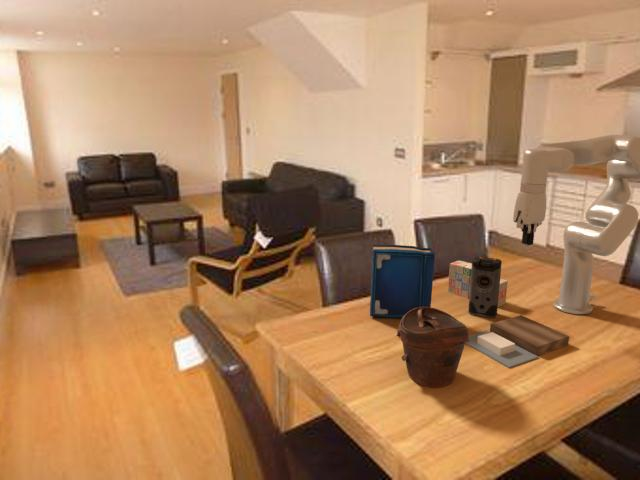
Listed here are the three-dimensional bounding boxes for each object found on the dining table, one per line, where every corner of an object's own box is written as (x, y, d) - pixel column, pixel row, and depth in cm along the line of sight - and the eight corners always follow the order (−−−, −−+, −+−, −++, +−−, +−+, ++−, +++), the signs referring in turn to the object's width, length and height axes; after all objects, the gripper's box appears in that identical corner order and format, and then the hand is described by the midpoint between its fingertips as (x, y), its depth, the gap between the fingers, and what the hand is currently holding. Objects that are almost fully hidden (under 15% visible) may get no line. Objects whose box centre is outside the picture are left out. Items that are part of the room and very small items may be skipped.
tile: (477, 336, 150) (477, 343, 151) (500, 348, 142) (499, 355, 143) (492, 331, 153) (491, 338, 153) (515, 343, 145) (514, 351, 146)
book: (430, 312, 175) (434, 244, 169) (433, 320, 168) (436, 250, 162) (369, 310, 177) (370, 243, 171) (369, 318, 170) (371, 249, 164)
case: (413, 350, 147) (415, 295, 142) (478, 372, 135) (482, 312, 130) (381, 376, 134) (382, 316, 129) (449, 403, 122) (453, 338, 117)
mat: (486, 331, 160) (486, 330, 159) (538, 357, 142) (538, 356, 142) (458, 339, 154) (458, 338, 154) (508, 368, 137) (509, 366, 137)
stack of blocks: (506, 304, 182) (508, 272, 179) (496, 308, 178) (499, 276, 175) (456, 288, 198) (458, 259, 194) (447, 292, 194) (449, 262, 190)
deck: (520, 323, 165) (520, 315, 164) (568, 345, 150) (569, 336, 149) (489, 332, 159) (490, 323, 158) (536, 356, 144) (537, 346, 143)
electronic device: (467, 314, 173) (471, 260, 168) (470, 308, 178) (474, 255, 173) (495, 319, 169) (499, 263, 163) (497, 313, 174) (502, 259, 168)
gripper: (539, 185, 162) (533, 238, 167) (506, 188, 156) (501, 244, 161) (559, 188, 156) (552, 243, 161) (526, 192, 149) (520, 250, 154)
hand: (527, 243), depth 161 cm, fingers closed
